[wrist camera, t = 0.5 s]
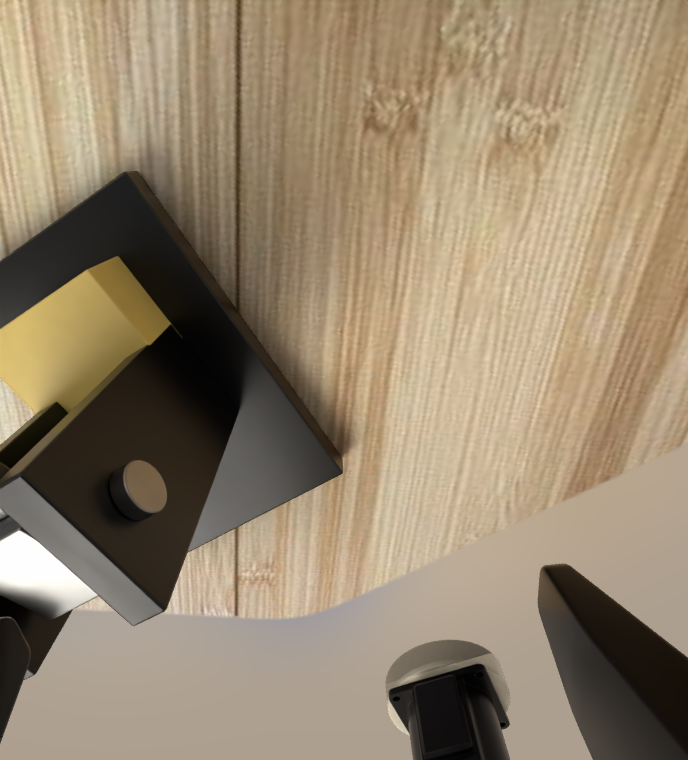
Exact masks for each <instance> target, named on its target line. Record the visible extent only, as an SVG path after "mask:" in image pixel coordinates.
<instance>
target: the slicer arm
mask: <svg viewBox="0 0 688 760" xmlns="http://www.w3.org/2000/svg"><path fill="white" fill-rule="evenodd" d="M9 470H10V468H8V467H7V466H5V465H4V464H2V463H1V462H0V479H1V478H2V477H3V476H4V475H5V474H6V473H7V472H8V471H9ZM0 595H1V596H3V597H5V598H7V599H9V600H11V601H13V602H15V603H17V604H19V605H21V606H23V607H25V608H27V609H29V610H31V611H33V612H35V613H37V614H39V615H41V616H43V617H45V618H47V619H49V620H53V619H55V618H57V617H59V616H61V615H63V614H64V613H66V612H68V611H70V610H72V609H74V608H76V607H78V606H80V605H82V604H84V603H86V602H88V601H90V600H92V599H94V598H96V597H98V595H97V594H96V593H95V592H94V591H93V590H91V589H90V588H89V587H88V586H87V585H86V584H85V583H84V582H82V581H81V580H80V579H79V578H78V577H77V576H76V575H75V574H73V573H72V572H71V571H70V570H69V569H68V568H67V567H66V566H64V565H63V564H62V563H61V562H60V561H59V560H58V559H57V558H55V557H54V556H53V555H52V554H51V553H50V552H49V551H48V550H47V549H45V548H44V547H43V546H42V545H41V544H40V543H39V542H38V541H36V540H35V539H34V538H33V537H32V536H31V535H30V534H29V533H27V532H26V531H25V530H24V529H23V528H22V527H21V526H20V525H18V524H17V523H16V522H15V521H14V520H13V519H12V518H11V517H9V516H8V515H7V514H6V513H5V512H4V511H3V510H2V509H0Z"/></svg>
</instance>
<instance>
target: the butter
mask: <svg viewBox="0 0 688 760" xmlns="http://www.w3.org/2000/svg"><path fill="white" fill-rule="evenodd" d="M170 324H171V323H170V322H169V320H168V319H167V318H166V317H165V315H164V314H163V313H162V312H161V310H160V309H159V308H158V306H157V305H156V304H155V303H154V301H153V300H152V299H151V297H150V296H149V295H148V294H147V292H146V291H145V290H144V288H143V287H142V286H141V285H140V283H139V282H138V281H137V280H136V278H135V277H134V276H133V274H132V273H131V272H130V271H129V269H128V268H127V267H126V265H125V264H124V263H123V262H122V260H121V259H120V258H119V257H118V256H116V257H114V258H112V259H110V260H107V261H105V262H103V263H101V264H98V265H96V266H94V267H92V268H90V269H87V270H86V271H84V272H83V273H81V274H80V275H78V276H77V277H75V278H74V279H72V280H71V281H70V282H68V283H67V284H65V285H64V286H62V287H61V288H59V289H58V290H56V291H55V292H54V293H52V294H51V295H49V296H48V297H46V298H45V299H43V300H42V301H40V302H39V303H37V304H36V305H35V306H33V307H32V308H30V309H29V310H27V311H26V312H24V313H23V314H21V315H20V316H18V317H17V318H16V319H14V320H13V321H11V322H10V323H8V324H7V325H5V326H4V327H2V328H1V329H0V378H1V379H2V380H3V381H4V382H5V383H6V384H7V385H8V386H9V387H10V388H11V389H12V390H13V392H14V393H15V394H16V395H17V396H18V397H19V398H20V399H21V400H22V401H23V402H24V403H25V404H26V405H27V406H28V407H29V408H30V409H31V410H32V411H33V412H34V413H35V414H37V413H39V412H40V411H42V410H43V409H45V408H47V407H48V406H50V405H51V404H53V403H55V402H58V403H59V404H60V405H61V406H62V407H63V408H64V409H65V410H66V411H67V412H68V413H70V412H71V411H72V410H73V409H74V408H75V407H76V406H77V405H78V404H79V403H80V402H81V401H82V400H83V399H84V398H85V397H86V396H87V395H88V394H89V393H90V392H91V391H92V390H93V389H94V388H95V387H96V386H97V385H99V384H100V383H101V382H102V381H103V380H104V379H105V378H106V377H107V376H108V375H109V374H110V373H111V372H112V371H113V370H114V369H115V368H116V367H117V366H118V365H119V364H120V363H121V362H122V361H123V360H124V359H125V358H127V357H128V356H130V355H131V354H133V353H135V352H136V351H138V350H139V349H141V348H143V347H144V346H146V345H151V344H152V343H153V342H154V341H155V340H156V339H157V338H158V337H159V336H160V335H161V333H162V332H163V331H164V330H165V329H166V328H167V327H168V326H169V325H170ZM171 325H172V324H171ZM175 330H176V329H175ZM178 334H179V333H178Z"/></svg>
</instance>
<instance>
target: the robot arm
mask: <svg viewBox="0 0 688 760" xmlns="http://www.w3.org/2000/svg"><path fill="white" fill-rule="evenodd" d="M538 608H539V613H540V616H541V620H542V622H543V626H544V629H545V632H546V635H547V638H548V641H549V643H550V647H551V650H552V653H553V656H554V658H555V662H556V665H557V668H558V671H559V674H560V677H561V680H562V683H563V686H564V689H565V692H566V694H567V698H568V700H569V704H570V706H571V709H572V712H573V714H574V717H575V719H576V722H577V724H578V727H579V729H580V731H581V734H582V736H583V738H584V740H585V743H586V745H587V747H588V749H589V752H590V754H591V756H592V758H593V760H688V657H686V656H685V655H684V654H682V653H681V652H680V651H678V650H677V649H676V648H675V647H673V646H672V645H671V644H670V643H668V642H667V641H666V640H665V639H663V638H662V637H661V636H659V635H658V634H657V633H656V632H654V631H653V630H652V629H650V628H649V627H648V626H647V625H645V624H644V623H643V622H641V621H640V620H639V619H638V618H636V617H635V616H634V615H632V614H631V613H630V612H629V611H627V610H626V609H625V608H623V607H622V606H621V605H620V604H618V603H617V602H616V601H614V600H613V599H612V598H611V597H609V596H608V595H606V594H605V593H604V592H603V591H602V590H600V589H599V588H598V587H597V586H595V585H594V584H593V583H591V582H590V581H589V580H588V579H586V578H585V577H584V576H582V575H581V574H580V573H578V572H577V571H576V570H575V569H573V568H572V567H571V566H569V565H567V564H555V565H545V566H543V567H542V568H541V570H540V578H539V591H538ZM30 657H31V652H30V647H29V645H28V643H27V641H26V640H25V638H24V636H23V634H22V632H21V630H20V628H19V627H18V625H17V623H16V621H15V620H14V619H13V618H11V617H0V743H1V740H2V737H3V734H4V732H5V729H6V726H7V723H8V721H9V718H10V715H11V712H12V710H13V707H14V704H15V701H16V699H17V696H18V693H19V690H20V687H21V685H22V682H23V680H24V677H25V674H26V671H27V669H28V666H29V662H30ZM388 695H389V701H390V703H391V704H392V706H393V708H394V709H395V711H396V713H397V714H398V716H399V718H400V719H401V721H402V723H403V724H404V726H405V728H406V729H407V731H408V733H409V734H410V740H411V748H412V755H413V760H510V757H509V754H508V750H507V748H506V744H505V740H504V737H503V734H502V729H505V728H507V727H508V726H509V725H510V723H509V720H508V716H507V714H506V712H505V710H504V708H503V705H502V703H501V701H500V699H499V696H498V694H497V692H496V690H495V688H494V685H493V683H492V681H491V679H490V676H489V674H488V672H487V670H486V667H485V666H484V665H483V664H474V665H471V666H467V667H464V668H460V669H457V670H453V671H450V672H446V673H443V674H439V675H436V676H433V677H429V678H426V679H422V680H419V681H415V682H412V683H408V684H405V685H401V686H398V687H395V688H392V689H390V690H389V692H388Z"/></svg>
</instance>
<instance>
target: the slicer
mask: <svg viewBox="0 0 688 760" xmlns="http://www.w3.org/2000/svg"><path fill="white" fill-rule="evenodd" d="M116 256H118V257H119V258H120V259H121V260H122V262H123V263H124V264H125V265H126V267H127V268H128V269H129V271H130V272H131V273H132V274H133V276H134V277H135V278H136V280H137V281H138V282H139V283H140V285H141V286H142V287H143V288H144V290H145V291H146V292H147V294H148V295H149V296H150V297H151V299H152V300H153V301H154V303H155V304H156V305H157V306H158V308H159V309H160V310H161V312H162V313H163V314H164V315H165V317H166V318H167V319H168V320H169V322H170V323H171V324H172V325H171V324H170V325H169V326H168V327H167V328H166V329H165V330H164V331H163V332H162V333H161V335H160V336H159V337H158V338H157V339H156V340H155V341H154V342H153V343H152V344H151V345H146V346H144V347H143V348H141V349H139V350H138V351H136V352H135V353H133V354H131V355H130V356H128V357H127V358H125V359H124V360H123V361H122V362H121V363H120V364H119V365H118V366H117V367H116V368H115V369H114V370H113V371H112V372H111V373H110V374H109V375H108V376H107V377H106V378H105V379H104V380H103V381H102V382H101V383H100V384H99V385H97V386H96V387H95V388H94V389H93V390H92V391H91V392H90V393H89V394H88V395H87V396H86V397H85V398H84V399H83V400H82V401H81V402H80V403H79V404H78V405H77V406H76V407H75V408H74V409H73V410H72V411H71V412H70V413H68V412H67V411H66V410H65V409H64V408H63V407H62V406H61V405H60V404H59V403H58V402H55V403H53V404H51V405H50V406H48V407H47V408H45V409H43V410H42V411H40V412H39V413H37V414H36V415H35V416H33V417H32V418H31V419H30V420H29V421H28V422H26V423H25V424H24V425H23V426H22V427H21V428H20V429H18V430H17V431H16V432H15V433H14V434H13V435H11V436H10V437H9V438H8V439H7V440H6V441H4V442H3V443H2V444H1V445H0V462H1V463H2V464H4V465H5V466H7V467H8V468H10V470H9V471H8V472H7V473H6V474H5V475H4V476H3V477H2V478H1V479H0V509H2V510H3V511H4V512H5V513H6V514H7V515H8V516H9V517H11V518H12V519H13V520H14V521H15V522H16V523H17V524H18V525H20V526H21V527H22V528H23V529H24V530H25V531H26V532H27V533H29V534H30V535H31V536H32V537H33V538H34V539H35V540H36V541H38V542H39V543H40V544H41V545H42V546H43V547H44V548H45V549H47V550H48V551H49V552H50V553H51V554H52V555H53V556H54V557H55V558H57V559H58V560H59V561H60V562H61V563H62V564H63V565H64V566H66V567H67V568H68V569H69V570H70V571H71V572H72V573H73V574H75V575H76V576H77V577H78V578H79V579H80V580H81V581H82V582H84V583H85V584H86V585H87V586H88V587H89V588H90V589H91V590H93V591H94V592H95V593H96V594H97V595H98V596H99V597H100V598H102V599H103V600H104V601H105V602H106V603H107V604H108V605H109V606H111V607H112V608H113V609H114V610H115V611H116V612H117V613H118V614H120V615H121V616H122V617H123V618H124V619H125V620H126V621H127V622H129V623H130V624H131V625H133V626H135V625H137V624H139V623H141V622H143V621H145V620H147V619H150V618H152V617H154V616H156V615H158V614H160V613H162V612H164V611H165V610H166V609H167V606H168V604H169V601H170V598H171V595H172V593H173V590H174V587H175V585H176V582H177V579H178V576H179V574H180V571H181V568H182V566H183V563H184V560H185V557H186V555H187V553H188V552H190V551H192V550H194V549H196V548H197V547H199V546H201V545H203V544H205V543H207V542H209V541H211V540H213V539H215V538H217V537H219V536H221V535H223V534H225V533H227V532H229V531H231V530H233V529H235V528H237V527H239V526H241V525H243V524H245V523H247V522H248V521H250V520H252V519H254V518H256V517H258V516H260V515H262V514H264V513H266V512H268V511H270V510H272V509H274V508H276V507H278V506H280V505H282V504H284V503H286V502H288V501H290V500H292V499H294V498H296V497H298V496H299V495H301V494H303V493H305V492H307V491H309V490H311V489H313V488H315V487H317V486H319V485H321V484H323V483H325V482H327V481H329V480H331V479H333V478H335V477H337V476H339V475H341V474H342V473H343V460H342V457H341V456H340V454H339V453H338V451H337V450H336V449H335V447H334V446H333V444H332V443H331V442H330V440H329V439H328V437H327V436H326V435H325V433H324V432H323V430H322V429H321V427H320V426H319V425H318V423H317V422H316V420H315V419H314V418H313V416H312V415H311V413H310V412H309V411H308V409H307V408H306V406H305V405H304V404H303V402H302V401H301V399H300V398H299V397H298V395H297V394H296V392H295V391H294V390H293V388H292V387H291V385H290V384H289V383H288V381H287V380H286V378H285V377H284V376H283V374H282V373H281V371H280V370H279V369H278V367H277V366H276V364H275V363H274V362H273V360H272V359H271V357H270V356H269V355H268V353H267V352H266V350H265V349H264V348H263V346H262V345H261V343H260V342H259V341H258V339H257V338H256V336H255V335H254V334H253V332H252V331H251V329H250V328H249V327H248V325H247V324H246V322H245V321H244V320H243V318H242V317H241V315H240V314H239V312H238V311H237V310H236V308H235V307H234V305H233V304H232V303H231V301H230V300H229V298H228V297H227V296H226V294H225V293H224V291H223V290H222V289H221V287H220V286H219V284H218V283H217V282H216V280H215V279H214V277H213V276H212V275H211V273H210V272H209V270H208V269H207V268H206V266H205V265H204V263H203V262H202V261H201V259H200V258H199V256H198V255H197V254H196V252H195V251H194V249H193V248H192V247H191V245H190V244H189V242H188V241H187V240H186V238H185V237H184V235H183V234H182V233H181V231H180V230H179V228H178V227H177V226H176V224H175V223H174V221H173V220H172V219H171V217H170V216H169V214H168V213H167V212H166V210H165V209H164V207H163V206H162V205H161V203H160V202H159V200H158V199H157V197H156V196H155V195H154V193H153V192H152V190H151V189H150V188H149V186H148V185H147V183H146V182H145V181H144V179H143V178H142V176H141V175H140V174H139V172H137V171H131V172H123V173H122V174H120V175H119V176H118V177H116V178H115V179H113V180H112V181H111V182H109V183H108V184H106V185H105V186H104V187H102V188H101V189H100V190H98V191H97V192H95V193H94V194H93V195H91V196H90V197H88V198H87V199H86V200H84V201H83V202H82V203H80V204H79V205H77V206H76V207H75V208H73V209H72V210H70V211H69V212H68V213H66V214H65V215H64V216H62V217H61V218H59V219H58V220H57V221H55V222H54V223H52V224H51V225H50V226H48V227H47V228H46V229H44V230H43V231H41V232H40V233H39V234H37V235H36V236H34V237H33V238H32V239H30V240H29V241H28V242H26V243H25V244H23V245H22V246H21V247H19V248H18V249H16V250H15V251H14V252H12V253H11V254H10V255H8V256H7V257H5V258H4V259H3V260H1V261H0V329H1V328H2V327H4V326H5V325H7V324H8V323H10V322H11V321H13V320H14V319H16V318H17V317H18V316H20V315H21V314H23V313H24V312H26V311H27V310H29V309H30V308H32V307H33V306H35V305H36V304H37V303H39V302H40V301H42V300H43V299H45V298H46V297H48V296H49V295H51V294H52V293H54V292H55V291H56V290H58V289H59V288H61V287H62V286H64V285H65V284H67V283H68V282H70V281H71V280H72V279H74V278H75V277H77V276H78V275H80V274H81V273H83V272H84V271H86V270H87V269H90V268H92V267H94V266H96V265H98V264H101V263H103V262H105V261H107V260H110V259H112V258H114V257H116ZM175 329H176V330H175ZM178 333H179V334H178ZM72 610H73V609H72ZM72 610H70V611H68V612H66V613H64V614H63V615H61V616H59V617H57V618H55V619H53V620H49V619H47V618H45V617H43V616H41V615H39V614H37V613H35V612H33V611H31V610H29V609H27V608H25V607H23V606H21V605H19V604H17V603H15V602H13V601H11V600H9V599H7V598H5V597H3V596H1V595H0V617H11V618H13V619H14V620H15V621H16V623H17V625H18V627H19V628H20V630H21V632H22V634H23V636H24V638H25V640H26V641H27V643H28V645H29V647H30V652H31V657H30V662H29V666H28V669H27V671H26V674H25V677H24V680H25V679H27V678H29V677H31V676H33V675H35V674H36V673H37V671H38V669H39V667H40V666H41V664H42V662H43V660H44V659H45V657H46V655H47V653H48V652H49V650H50V648H51V646H52V645H53V643H54V641H55V639H56V638H57V636H58V634H59V632H60V631H61V629H62V627H63V626H64V624H65V622H66V621H67V619H68V617H69V615H70V613H71V612H72Z"/></svg>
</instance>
